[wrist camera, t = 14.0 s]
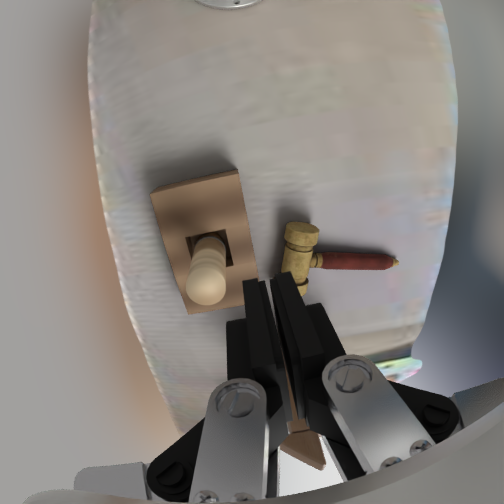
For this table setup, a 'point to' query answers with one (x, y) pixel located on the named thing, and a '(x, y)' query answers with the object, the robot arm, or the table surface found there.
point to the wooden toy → (302, 439)
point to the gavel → (322, 256)
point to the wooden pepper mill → (207, 270)
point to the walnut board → (206, 231)
